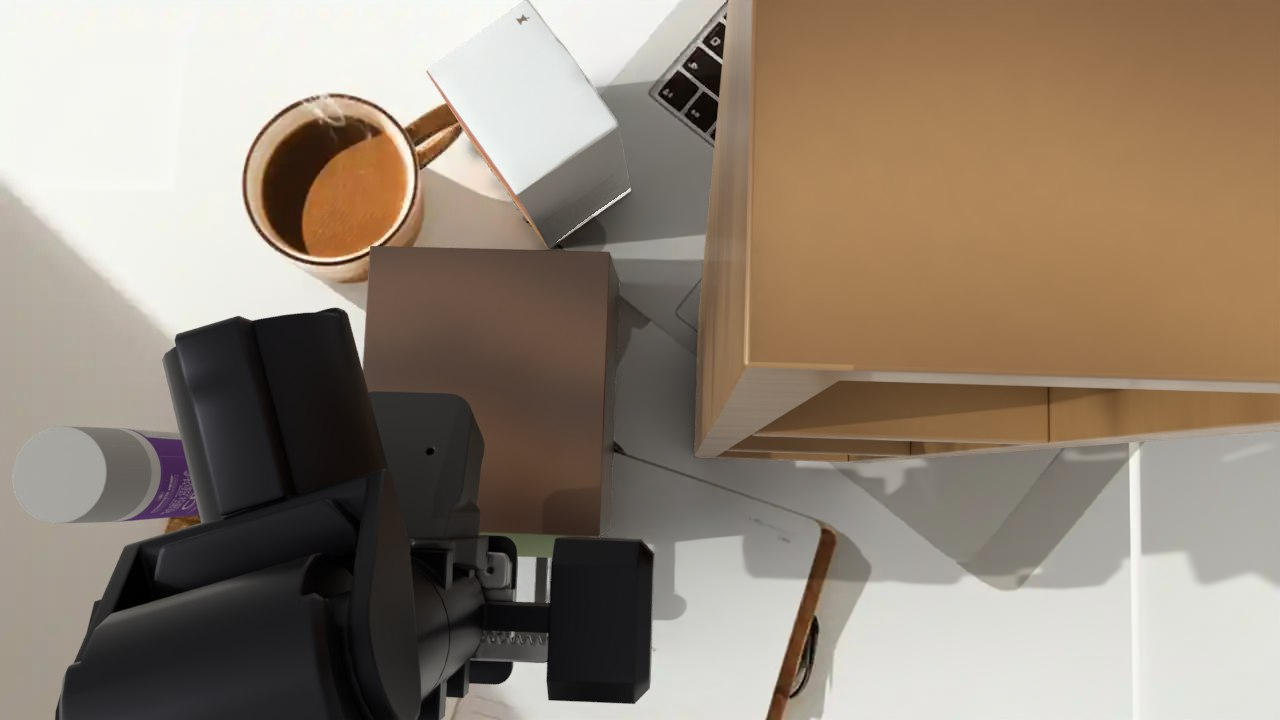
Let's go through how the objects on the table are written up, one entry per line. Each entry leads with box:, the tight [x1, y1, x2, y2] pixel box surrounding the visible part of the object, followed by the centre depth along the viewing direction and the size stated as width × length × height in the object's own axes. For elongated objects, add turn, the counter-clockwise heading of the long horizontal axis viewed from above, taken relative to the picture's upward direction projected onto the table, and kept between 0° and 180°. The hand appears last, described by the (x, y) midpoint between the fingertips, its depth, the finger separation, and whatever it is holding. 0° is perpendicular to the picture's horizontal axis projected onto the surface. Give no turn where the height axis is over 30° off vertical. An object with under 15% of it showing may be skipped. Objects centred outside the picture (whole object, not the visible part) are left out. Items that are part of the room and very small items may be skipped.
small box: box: [426, 0, 631, 250], centre depth 59 cm, size 8×6×13 cm
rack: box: [693, 0, 1280, 464], centre depth 37 cm, size 8×10×52 cm
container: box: [11, 425, 199, 525], centre depth 56 cm, size 5×5×15 cm
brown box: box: [362, 245, 621, 538], centre depth 59 cm, size 15×13×9 cm
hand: (461, 589), depth 51 cm, fingers closed
